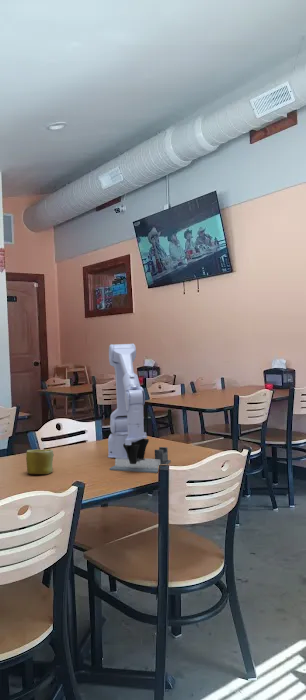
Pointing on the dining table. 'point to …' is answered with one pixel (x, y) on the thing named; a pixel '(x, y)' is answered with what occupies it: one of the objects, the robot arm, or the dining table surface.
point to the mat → (134, 469)
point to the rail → (137, 463)
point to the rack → (162, 455)
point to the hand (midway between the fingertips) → (136, 461)
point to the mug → (39, 461)
